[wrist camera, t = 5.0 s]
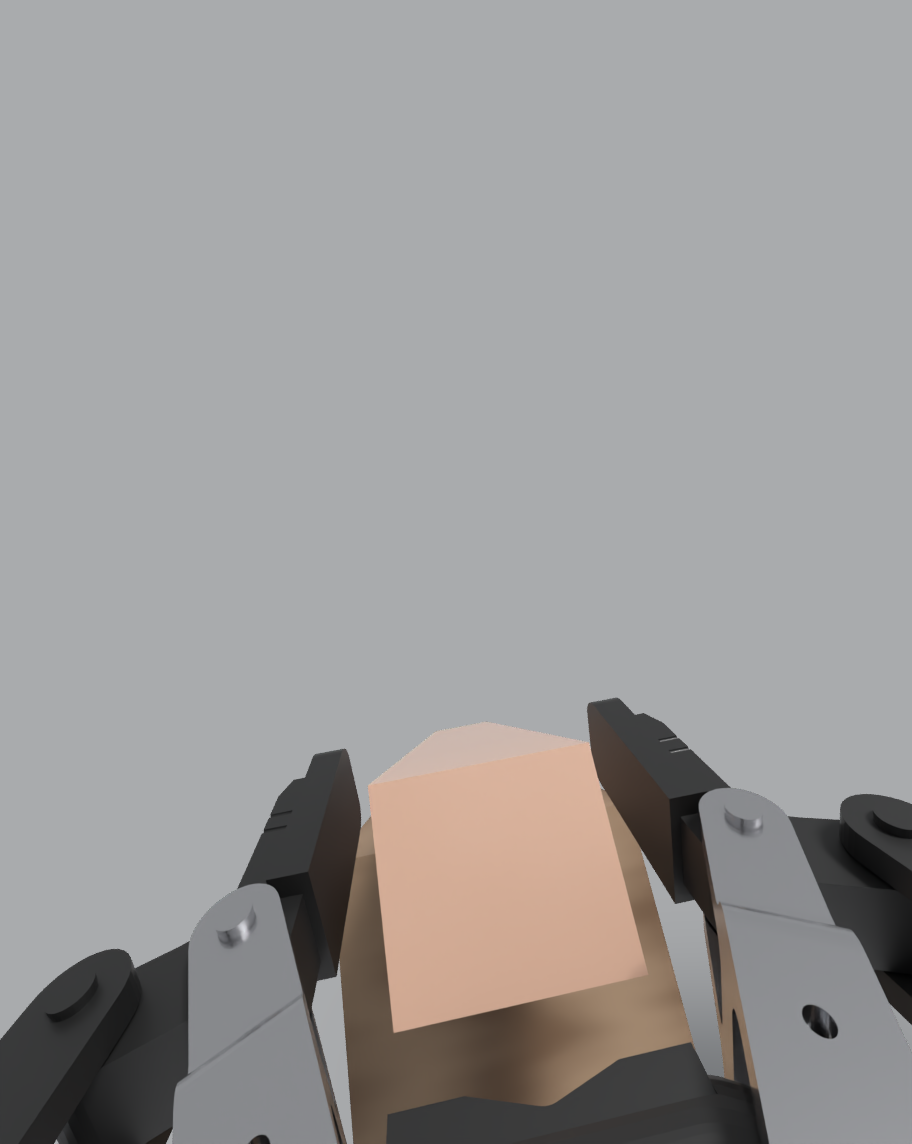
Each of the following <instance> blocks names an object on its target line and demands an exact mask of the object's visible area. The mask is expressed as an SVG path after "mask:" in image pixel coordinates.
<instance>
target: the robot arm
mask: <svg viewBox="0 0 912 1144" xmlns="http://www.w3.org/2000/svg"><path fill="white" fill-rule="evenodd" d="M587 713H588V723H589V733H590V743H591V753H592V757H593V761H594V765H595V769H596V772H597V776H598V779H599V781H600V783H601V784H602V786H603V788H604V789H605V791H606V793H607V794H608V796H609V798H610V799H611V801H612V802H613V804H614V806H615V807H616V809H617V810H618V812H619V814H620V815H621V817H622V818H623V820H624V822H625V823H626V825H627V827H628V828H629V830H630V831H631V833H632V835H633V836H634V838H635V839H636V841H637V843H638V844H639V846H640V848H641V849H642V851H643V852H644V854H645V856H646V857H647V859H648V860H649V862H650V864H651V865H652V867H653V869H654V870H655V872H656V873H657V875H658V876H659V878H660V880H661V881H662V883H663V885H664V886H665V888H666V890H667V891H668V893H669V894H670V896H671V898H672V899H673V901H674V902H675V904H677V903H681V902H686V901H691V900H695V901H696V902H697V904H698V905H699V907H700V908H701V910H702V911H703V918H704V933H705V939H706V946H707V953H708V959H709V966H710V972H711V979H712V986H713V993H714V999H715V1006H716V1012H717V1019H718V1025H719V1033H720V1039H721V1047H722V1055H723V1065H724V1076H725V1078H723V1077H719V1076H713V1075H707V1073H706V1071H705V1069H704V1067H703V1065H702V1063H701V1061H700V1059H699V1057H698V1055H697V1053H696V1051H695V1049H694V1047H693V1045H692V1043H691V1042H689V1043H685V1044H680V1045H676V1046H672V1047H668V1048H664V1049H659V1050H655V1051H651V1052H647V1053H643V1054H638V1055H634V1056H630V1057H626V1058H622V1059H618V1060H617V1061H615V1062H614V1063H613V1064H611V1065H610V1066H608V1067H607V1068H605V1069H604V1070H602V1071H601V1072H599V1073H598V1074H597V1075H595V1076H594V1077H592V1078H591V1079H589V1080H588V1081H586V1082H585V1083H583V1084H582V1085H581V1086H579V1087H578V1088H576V1089H575V1090H573V1091H572V1092H570V1093H569V1094H567V1095H566V1096H565V1097H563V1098H562V1099H560V1100H559V1101H557V1102H556V1103H554V1104H552V1105H548V1106H535V1105H527V1104H520V1103H512V1102H505V1101H497V1100H490V1099H482V1098H475V1097H467V1096H463V1097H458V1098H454V1099H450V1100H446V1101H442V1102H438V1103H433V1104H429V1105H425V1106H421V1107H417V1108H412V1109H408V1110H404V1111H400V1112H396V1113H391V1114H387V1135H386V1144H912V1052H911V1050H910V1047H909V1045H908V1043H907V1041H906V1039H905V1037H904V1034H903V1032H902V1030H901V1028H900V1026H899V1024H898V1022H897V1019H896V1017H895V1015H894V1013H893V1011H892V1009H891V1007H890V1004H891V1005H892V1006H893V1007H894V1008H895V1009H896V1010H897V1011H898V1012H899V1013H900V1014H901V1015H902V1016H903V1017H904V1018H905V1019H906V1020H907V1021H908V1022H909V1023H910V1024H912V804H910V803H907V802H904V801H902V800H898V799H894V798H891V797H886V796H881V795H872V794H861V795H854V796H851V797H848V798H846V799H845V800H844V801H843V802H842V804H841V808H840V820H832V819H831V820H830V819H814V818H798V817H789V816H787V815H786V814H785V813H784V812H783V811H782V809H780V808H779V807H778V806H777V805H776V804H774V803H773V802H771V801H769V800H768V799H766V798H764V797H762V796H760V795H758V794H755V793H752V792H749V791H746V790H741V789H736V788H730V787H729V786H728V785H727V784H726V783H725V782H724V781H723V780H722V779H721V778H720V777H719V776H718V775H717V774H716V773H715V772H714V771H713V770H712V769H711V768H710V767H708V766H707V765H706V764H705V763H704V762H703V761H702V760H701V759H700V758H699V757H698V756H697V755H696V754H695V753H694V752H693V751H692V750H689V749H688V746H687V745H686V744H685V743H683V742H682V741H681V740H680V739H679V738H678V739H677V736H676V735H675V734H674V733H673V732H672V731H671V730H670V729H669V728H668V727H667V726H666V725H665V724H664V723H662V722H660V721H658V720H656V719H654V718H652V717H650V716H648V715H646V714H644V713H642V714H637V715H634V714H633V713H632V711H631V710H630V709H629V708H628V707H627V706H626V705H625V704H624V703H623V702H622V701H621V700H620V699H618V698H612V699H607V700H602V701H597V702H591V703H589V704H588V707H587ZM360 812H361V811H360V803H359V798H358V794H357V789H356V785H355V781H354V776H353V773H352V768H351V764H350V759H349V755H348V753H347V751H346V749H340V750H336V751H330V752H325V753H319V754H315V755H314V756H313V759H312V761H311V764H310V766H309V769H308V771H307V774H306V777H305V778H302V779H296V780H293V782H292V783H291V784H290V785H289V786H288V787H287V788H286V789H285V790H284V791H283V792H282V793H281V795H280V796H279V797H278V799H277V801H276V803H275V806H274V808H273V810H272V812H271V818H269V819H268V822H267V823H266V826H265V828H264V833H263V834H262V835H261V837H260V839H259V842H258V844H257V846H256V848H255V850H254V853H253V855H252V857H251V860H250V862H249V864H248V867H247V868H246V871H245V873H244V875H243V877H242V880H241V882H240V884H239V887H238V889H237V890H235V891H233V892H231V893H229V894H228V895H226V896H225V897H223V898H222V899H221V900H219V901H218V902H217V903H216V904H215V905H213V906H212V907H211V908H210V909H209V910H208V911H207V912H206V914H205V915H204V916H203V917H202V918H201V920H200V921H199V923H198V924H197V926H196V927H195V929H194V931H193V934H192V935H191V939H190V941H189V942H187V943H185V944H183V945H182V946H180V947H178V948H176V949H174V950H172V951H170V952H168V953H166V954H163V955H162V956H159V957H157V958H155V959H153V960H151V961H149V962H147V963H145V964H143V965H141V966H139V967H137V968H134V965H133V962H132V960H131V957H130V956H129V954H128V953H127V952H125V951H124V950H120V949H111V950H105V951H102V952H99V953H96V954H94V955H91V956H89V957H87V958H85V959H83V960H82V961H80V962H78V963H77V964H75V965H73V966H72V967H70V968H69V969H68V970H66V971H65V972H63V973H62V974H61V975H59V976H58V977H57V978H56V979H55V980H53V981H52V982H51V983H50V984H49V985H48V986H47V987H46V988H45V989H44V990H43V991H42V992H41V993H40V994H39V995H38V996H37V997H36V998H35V999H34V1000H33V1001H32V1003H31V1004H30V1005H29V1006H28V1007H27V1008H26V1010H25V1011H24V1012H23V1013H22V1014H21V1016H20V1017H19V1018H18V1019H17V1020H16V1022H15V1023H14V1024H13V1025H12V1027H11V1028H10V1029H9V1030H8V1031H7V1032H6V1034H5V1035H4V1036H3V1037H2V1038H1V1040H0V1144H54V1143H55V1141H56V1139H57V1141H58V1143H59V1144H166V1142H167V1140H168V1138H169V1136H170V1133H171V1131H172V1129H173V1141H172V1142H173V1144H347V1143H346V1139H345V1135H344V1132H343V1128H342V1124H341V1120H340V1116H339V1112H338V1108H337V1104H336V1101H335V1096H334V1092H333V1088H332V1085H331V1080H330V1077H329V1073H328V1069H327V1065H326V1061H325V1057H324V1053H323V1049H322V1045H321V1041H320V1037H319V1033H318V1030H317V1026H316V1022H315V1018H314V1014H313V1011H312V1002H313V997H314V993H315V988H316V983H317V981H319V980H323V979H328V978H332V977H336V976H337V970H338V963H339V958H340V952H341V946H342V940H343V933H344V927H345V921H346V915H347V909H348V903H349V897H350V891H351V885H352V879H353V873H354V866H355V860H356V854H357V848H358V842H359V836H360V829H361V813H360ZM889 1003H890V1004H889Z"/></svg>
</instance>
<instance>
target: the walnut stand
mask: <svg viewBox="0 0 912 1144" xmlns="http://www.w3.org/2000/svg"><path fill="white" fill-rule="evenodd" d="M601 792H602V796H603V800H604V804H605V807H606V811H607V815H608V819H609V823H610V827H611V831H612V835H613V839H614V843H615V846H616V850H617V854H618V858H619V862H620V866H621V870H622V874H623V878H624V881H625V885H626V889H627V893H628V897H629V901H630V905H631V909H632V913H633V917H634V920H635V924H636V928H637V932H638V936H639V940H640V944H641V948H642V952H643V955H644V959H645V963H646V967H647V971H648V975H646V976H641V977H637V978H633V979H628V980H624V981H620V982H615V983H611V984H606V985H602V986H598V987H593V988H589V989H585V990H580V991H576V992H571V993H567V994H563V995H558V996H554V997H550V998H545V999H541V1000H536V1001H532V1002H528V1003H523V1004H519V1005H514V1006H510V1007H506V1008H501V1009H497V1010H493V1011H488V1012H484V1013H479V1014H475V1015H471V1016H466V1017H462V1018H458V1019H453V1020H449V1021H444V1022H440V1023H436V1024H431V1025H427V1026H423V1027H418V1028H414V1029H409V1030H405V1031H401V1032H396V1033H394V1031H393V1022H392V1012H391V1002H390V993H389V983H388V973H387V964H386V954H385V944H384V935H383V925H382V915H381V906H380V896H379V886H378V877H377V867H376V857H375V848H374V838H373V828H372V819H371V817H370V818H369V820H368V821H367V822H366V823H365V824H364V825H363V826H362V828H361V829H360V836H359V842H358V848H357V854H356V860H355V866H354V873H353V879H352V885H351V891H350V897H349V903H348V909H347V915H346V921H345V927H344V933H343V940H342V946H341V952H340V958H339V959H340V972H341V984H342V998H343V1010H344V1023H345V1038H346V1051H347V1063H348V1077H349V1090H350V1104H351V1116H352V1130H353V1143H354V1144H386V1135H387V1114H391V1113H396V1112H400V1111H404V1110H408V1109H412V1108H417V1107H421V1106H425V1105H429V1104H433V1103H438V1102H442V1101H446V1100H450V1099H454V1098H458V1097H463V1096H467V1097H475V1098H482V1099H490V1100H497V1101H505V1102H512V1103H520V1104H527V1105H535V1106H548V1105H552V1104H554V1103H556V1102H557V1101H559V1100H560V1099H562V1098H563V1097H565V1096H566V1095H567V1094H569V1093H570V1092H572V1091H573V1090H575V1089H576V1088H578V1087H579V1086H581V1085H582V1084H583V1083H585V1082H586V1081H588V1080H589V1079H591V1078H592V1077H594V1076H595V1075H597V1074H598V1073H599V1072H601V1071H602V1070H604V1069H605V1068H607V1067H608V1066H610V1065H611V1064H613V1063H614V1062H615V1061H617V1060H618V1059H622V1058H626V1057H630V1056H634V1055H638V1054H643V1053H647V1052H651V1051H655V1050H659V1049H664V1048H668V1047H672V1046H676V1045H680V1044H685V1043H689V1042H691V1043H692V1045H693V1047H694V1044H693V1040H692V1036H691V1033H690V1029H689V1025H688V1022H687V1018H686V1014H685V1011H684V1007H683V1003H682V1000H681V996H680V992H679V989H678V985H677V981H676V978H675V974H674V970H673V967H672V963H671V959H670V956H669V952H668V948H667V944H666V941H665V937H664V933H663V930H662V926H661V922H660V919H659V915H658V911H657V908H656V905H655V901H654V897H653V893H652V890H651V886H650V882H649V878H648V875H647V871H646V867H645V864H644V860H643V856H642V853H641V849H640V846H639V844H638V843H637V841H636V839H635V838H634V836H633V835H632V833H631V831H630V830H629V828H628V827H627V825H626V823H625V822H624V820H623V818H622V817H621V815H620V814H619V812H618V810H617V809H616V807H615V806H614V804H613V802H612V801H611V799H610V798H609V796H608V794H607V793H606V791H605V790H603V789H601ZM694 1049H695V1047H694Z"/></svg>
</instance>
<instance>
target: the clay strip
mask: <svg viewBox="0 0 912 1144" xmlns="http://www.w3.org/2000/svg"><path fill="white" fill-rule="evenodd" d="M368 790H369V799H370V809H371V819H372V828H373V838H374V848H375V857H376V867H377V877H378V886H379V896H380V906H381V915H382V925H383V935H384V944H385V954H386V964H387V973H388V983H389V993H390V1002H391V1012H392V1022H393V1031H394V1033H396V1032H401V1031H405V1030H409V1029H414V1028H418V1027H423V1026H427V1025H431V1024H436V1023H440V1022H444V1021H449V1020H453V1019H458V1018H462V1017H466V1016H471V1015H475V1014H479V1013H484V1012H488V1011H493V1010H497V1009H501V1008H506V1007H510V1006H514V1005H519V1004H523V1003H528V1002H532V1001H536V1000H541V999H545V998H550V997H554V996H558V995H563V994H567V993H571V992H576V991H580V990H585V989H589V988H593V987H598V986H602V985H606V984H611V983H615V982H620V981H624V980H628V979H633V978H637V977H641V976H646V975H648V971H647V967H646V963H645V959H644V955H643V952H642V948H641V944H640V940H639V936H638V932H637V928H636V924H635V920H634V917H633V913H632V909H631V905H630V901H629V897H628V893H627V889H626V885H625V881H624V878H623V874H622V870H621V866H620V862H619V858H618V854H617V850H616V846H615V843H614V839H613V835H612V831H611V827H610V823H609V819H608V815H607V811H606V807H605V804H604V800H603V796H602V792H601V788H600V784H599V780H598V776H597V772H596V769H595V765H594V761H593V757H592V753H591V749H590V745H589V742H584V741H580V740H575V739H569V738H564V737H560V736H555V735H550V734H545V733H540V732H535V731H530V730H525V729H520V728H515V727H510V726H505V725H500V724H495V723H490V722H482V723H477V724H471V725H466V726H461V727H456V728H450V729H445V730H440V731H436V732H434V733H433V734H432V735H431V736H429V737H428V738H427V739H426V740H424V741H423V742H422V743H421V744H419V745H418V746H417V747H416V748H414V749H413V750H412V751H411V752H409V753H408V754H407V755H406V756H405V757H403V758H402V759H400V760H399V761H398V762H397V763H395V764H394V765H393V766H392V767H390V768H389V769H388V770H387V771H386V772H384V773H383V774H382V775H380V776H379V777H378V778H377V779H376V780H374V781H373V782H372V783H370V784H369V785H368Z"/></svg>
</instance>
